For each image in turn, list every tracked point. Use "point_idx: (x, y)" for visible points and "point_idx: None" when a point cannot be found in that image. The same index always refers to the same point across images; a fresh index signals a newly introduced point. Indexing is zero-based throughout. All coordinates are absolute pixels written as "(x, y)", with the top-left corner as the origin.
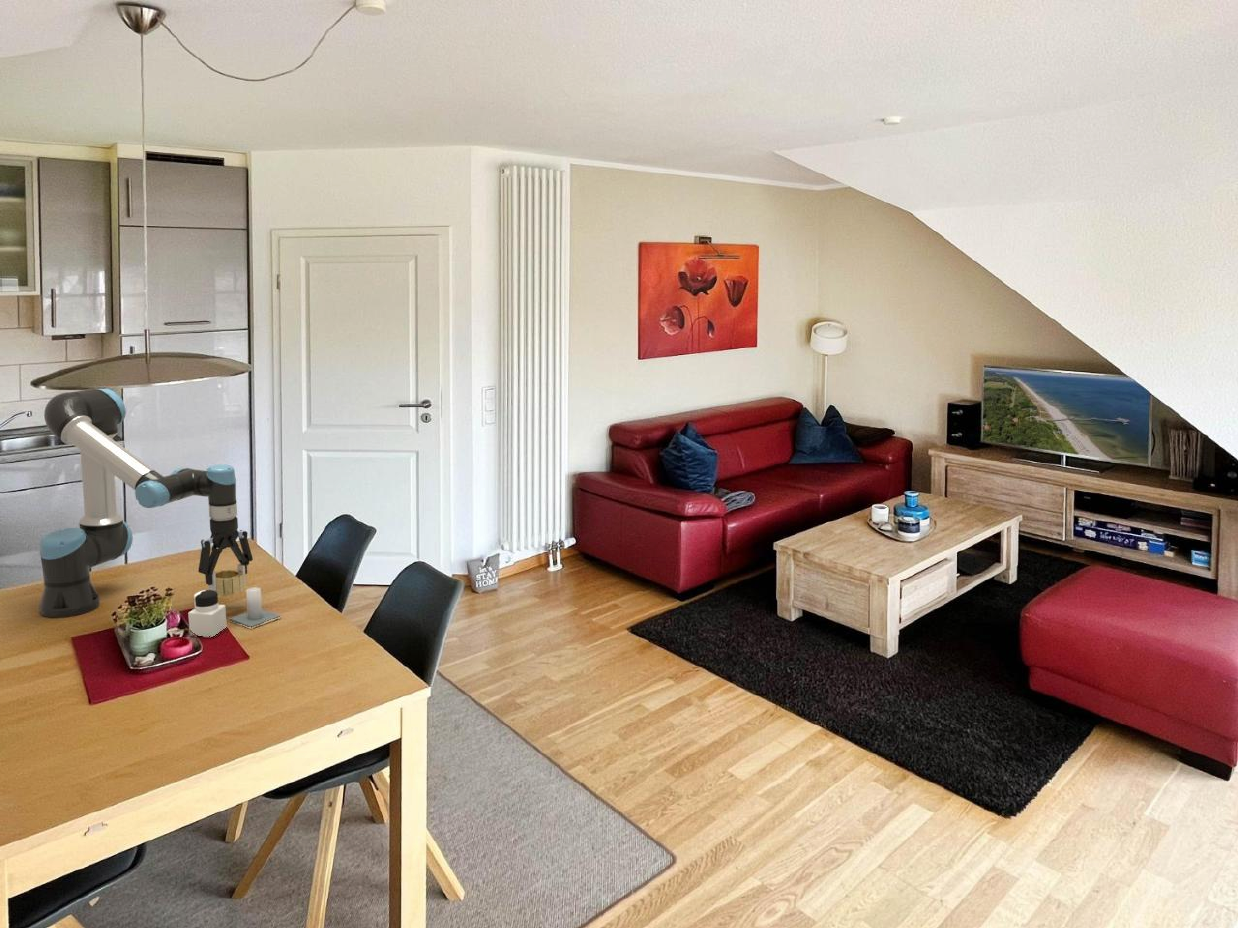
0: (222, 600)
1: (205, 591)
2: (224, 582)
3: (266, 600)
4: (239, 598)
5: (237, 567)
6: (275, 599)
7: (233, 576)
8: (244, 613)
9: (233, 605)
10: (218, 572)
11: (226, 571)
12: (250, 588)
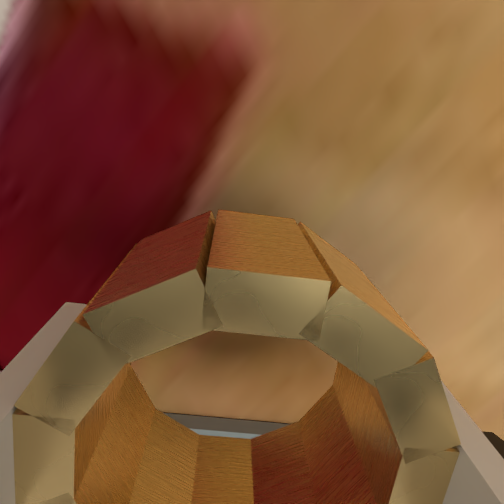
0: (360, 85)
1: None
2: None
3: (468, 338)
4: (437, 163)
5: (479, 480)
6: (500, 368)
7: (370, 385)
8: (215, 433)
9: (319, 231)
10: (240, 328)
11: (347, 367)
12: None
